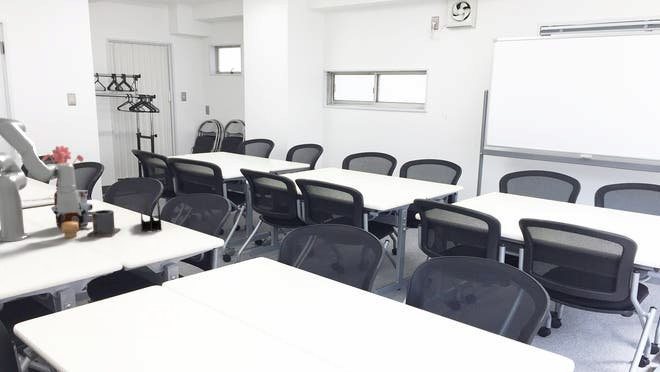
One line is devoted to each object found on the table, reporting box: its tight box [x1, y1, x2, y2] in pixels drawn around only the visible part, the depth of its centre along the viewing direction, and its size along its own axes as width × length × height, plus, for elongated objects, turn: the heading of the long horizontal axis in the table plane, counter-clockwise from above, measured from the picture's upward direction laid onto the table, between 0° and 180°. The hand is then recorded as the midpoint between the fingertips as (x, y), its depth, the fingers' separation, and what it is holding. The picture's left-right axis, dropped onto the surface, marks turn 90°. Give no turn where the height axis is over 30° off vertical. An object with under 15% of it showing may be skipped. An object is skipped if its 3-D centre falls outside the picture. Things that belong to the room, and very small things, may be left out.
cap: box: [61, 221, 80, 239], centre depth 251 cm, size 7×7×7 cm
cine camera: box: [53, 189, 94, 229], centre depth 268 cm, size 9×19×20 cm, turn 89°
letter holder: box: [140, 198, 163, 233], centre depth 271 cm, size 10×20×14 cm, turn 21°
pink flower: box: [40, 145, 84, 198], centre depth 350 cm, size 15×26×35 cm, turn 136°
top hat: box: [86, 209, 121, 238], centre depth 257 cm, size 12×12×11 cm
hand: (71, 223), depth 250 cm, fingers open, 9 cm apart
